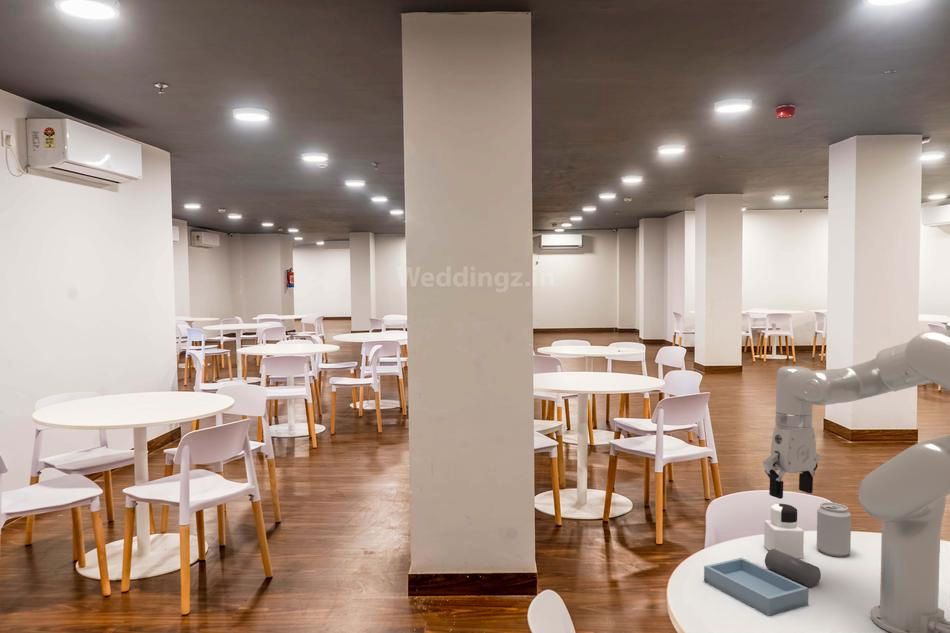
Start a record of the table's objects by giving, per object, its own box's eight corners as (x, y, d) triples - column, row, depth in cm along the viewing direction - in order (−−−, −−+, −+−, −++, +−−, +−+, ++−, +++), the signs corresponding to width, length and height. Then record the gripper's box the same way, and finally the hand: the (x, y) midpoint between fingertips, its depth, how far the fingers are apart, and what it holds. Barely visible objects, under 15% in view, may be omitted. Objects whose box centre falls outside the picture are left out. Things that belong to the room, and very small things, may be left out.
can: (809, 549, 166) (810, 503, 166) (829, 544, 169) (830, 499, 169) (837, 560, 159) (838, 511, 159) (857, 555, 162) (858, 507, 162)
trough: (808, 604, 136) (808, 588, 136) (768, 615, 131) (769, 598, 131) (741, 572, 152) (741, 557, 151) (704, 581, 147) (704, 566, 147)
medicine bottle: (792, 548, 167) (793, 502, 166) (803, 559, 160) (804, 511, 159) (763, 546, 167) (764, 501, 167) (773, 557, 160) (774, 509, 160)
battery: (819, 587, 145) (822, 566, 145) (804, 588, 143) (807, 566, 143) (774, 567, 156) (776, 547, 156) (760, 567, 154) (762, 547, 154)
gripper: (780, 426, 141) (778, 504, 142) (834, 421, 148) (831, 494, 149) (752, 420, 148) (750, 494, 149) (805, 415, 155) (802, 485, 156)
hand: (790, 494), depth 149 cm, fingers open, 9 cm apart
